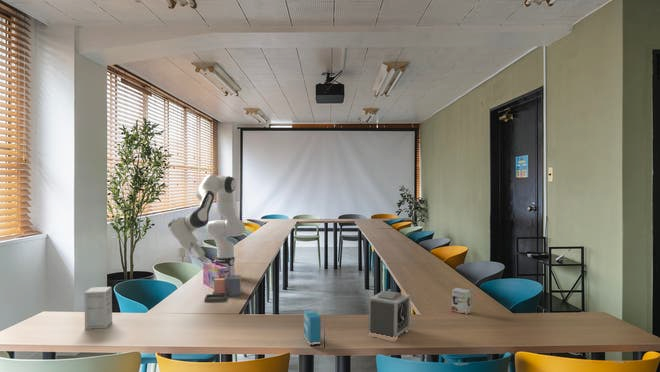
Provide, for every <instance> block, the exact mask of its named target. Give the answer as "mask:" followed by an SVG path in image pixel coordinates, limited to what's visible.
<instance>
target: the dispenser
mask: <svg viewBox="0 0 660 372" xmlns="http://www.w3.org/2000/svg"><path fill="white" fill-rule="evenodd" d="M225 279H226V290H225V294H226V297H241V293H242V275H241V274H236V275H227V276H225ZM212 294H214V291H212ZM221 294H224V293H221Z"/></svg>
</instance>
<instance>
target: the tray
mask: <svg viewBox="0 0 660 372" xmlns="http://www.w3.org/2000/svg"><path fill="white" fill-rule="evenodd" d="M226 300H227V296H226V293H225V294H213V293H211V294H206V295H205V297H204V303H220V302H226Z"/></svg>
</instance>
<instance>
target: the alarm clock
mask: <svg viewBox="0 0 660 372" xmlns="http://www.w3.org/2000/svg"><path fill="white" fill-rule="evenodd" d="M410 313H411V295H410V294H407V293H406V294H405V293H402V292H397V291H390V290H383V291H380V292H379V293H376V294H375V295H373V296H369V299H368V332H369V331H370V332H371V333H376V334H381V335H386V336H390V337H393V336H394V337H397V336H399V337H400V336H401V334H403V333H405V332H404V331H406V330H408V329H409V328H410V329H411V326H410V321H411V319H410V317H411V314H410Z"/></svg>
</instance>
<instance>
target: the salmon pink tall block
mask: <svg viewBox="0 0 660 372" xmlns="http://www.w3.org/2000/svg"><path fill="white" fill-rule="evenodd" d="M213 292H214V294H221V293H224V294H226V290H225V278H220V279H214V288H213Z"/></svg>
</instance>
